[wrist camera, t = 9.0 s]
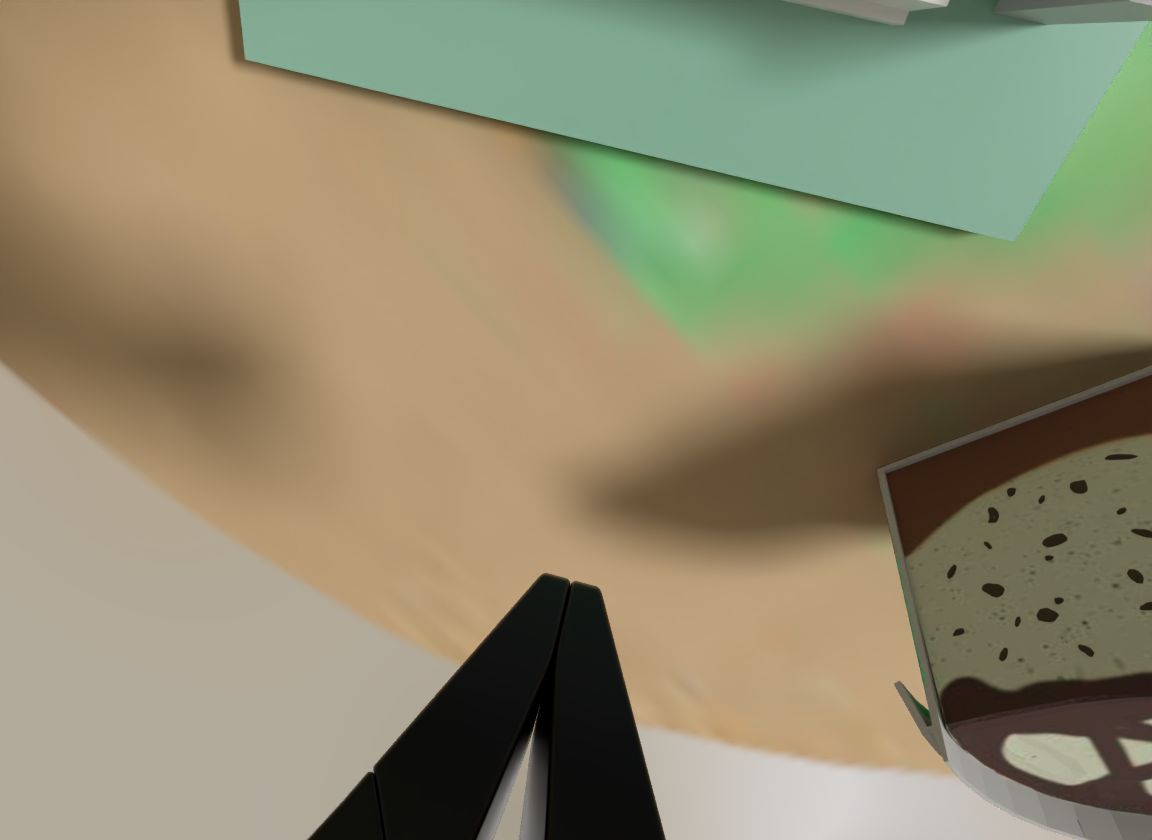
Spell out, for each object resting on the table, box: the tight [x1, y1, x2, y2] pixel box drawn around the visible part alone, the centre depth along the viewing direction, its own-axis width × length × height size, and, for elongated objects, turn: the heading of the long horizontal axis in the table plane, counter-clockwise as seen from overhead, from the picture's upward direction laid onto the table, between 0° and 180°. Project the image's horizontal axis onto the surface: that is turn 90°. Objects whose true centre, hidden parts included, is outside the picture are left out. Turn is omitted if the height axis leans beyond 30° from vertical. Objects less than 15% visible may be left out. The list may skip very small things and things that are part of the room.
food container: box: [876, 365, 1152, 840], centre depth 16 cm, size 12×6×10 cm, turn 126°
